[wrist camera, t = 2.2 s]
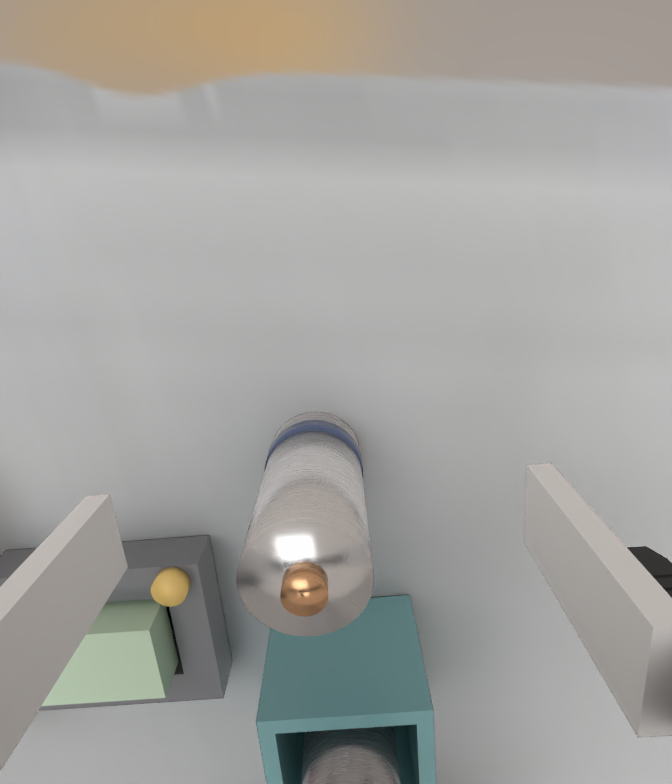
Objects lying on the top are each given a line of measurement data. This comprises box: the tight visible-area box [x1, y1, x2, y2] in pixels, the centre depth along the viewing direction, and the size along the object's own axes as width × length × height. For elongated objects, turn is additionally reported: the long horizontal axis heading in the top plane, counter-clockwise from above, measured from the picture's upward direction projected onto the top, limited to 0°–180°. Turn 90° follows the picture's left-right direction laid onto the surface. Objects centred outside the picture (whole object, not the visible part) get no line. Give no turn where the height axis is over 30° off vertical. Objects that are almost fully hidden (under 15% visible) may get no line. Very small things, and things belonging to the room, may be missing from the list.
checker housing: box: [0, 535, 232, 711], centre depth 22 cm, size 9×7×3 cm
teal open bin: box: [256, 595, 436, 784], centre depth 21 cm, size 6×6×6 cm
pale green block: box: [42, 599, 179, 706], centre depth 21 cm, size 5×3×2 cm, turn 95°
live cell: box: [237, 412, 374, 636], centre depth 17 cm, size 4×4×9 cm
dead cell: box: [302, 726, 401, 784], centre depth 19 cm, size 4×4×9 cm
